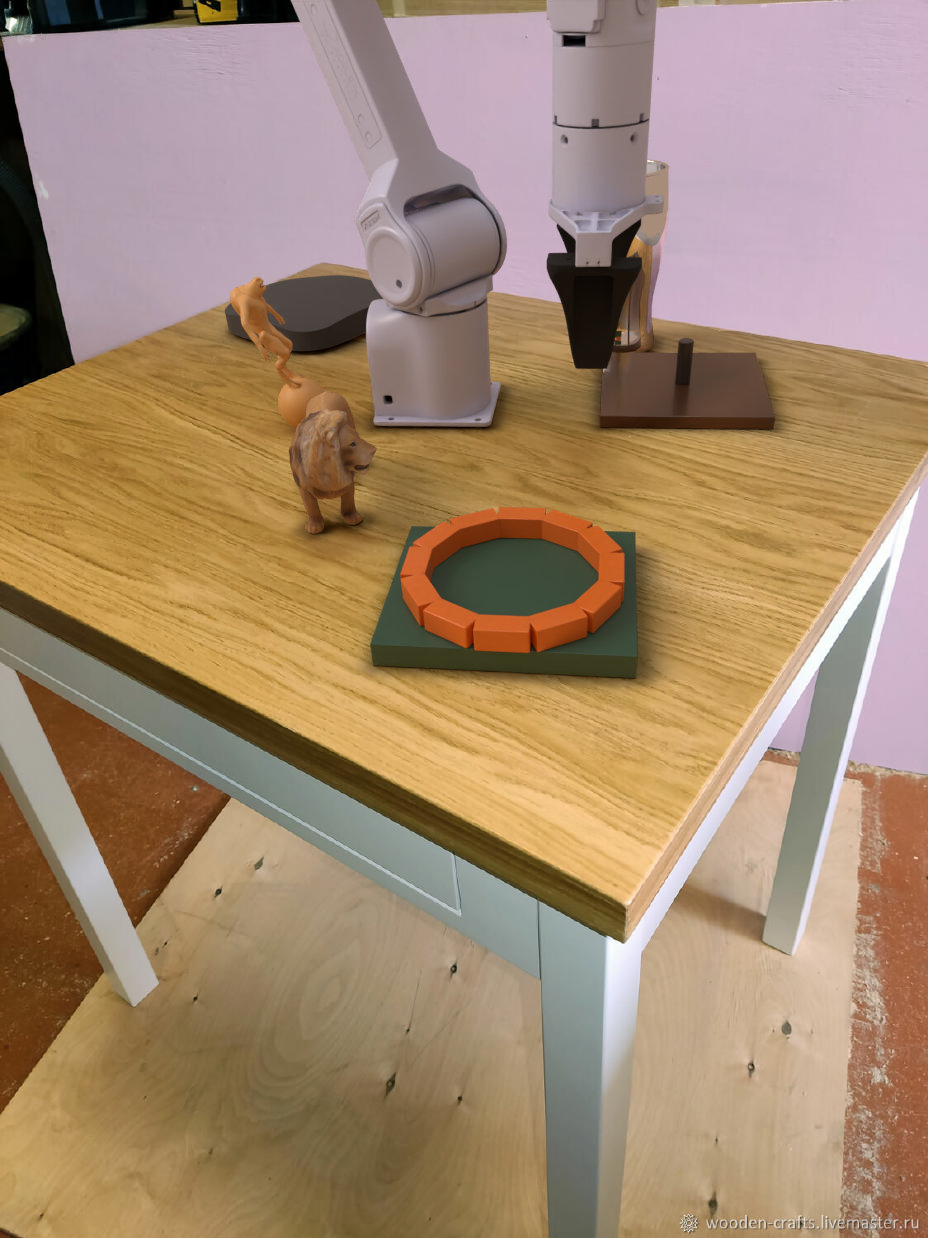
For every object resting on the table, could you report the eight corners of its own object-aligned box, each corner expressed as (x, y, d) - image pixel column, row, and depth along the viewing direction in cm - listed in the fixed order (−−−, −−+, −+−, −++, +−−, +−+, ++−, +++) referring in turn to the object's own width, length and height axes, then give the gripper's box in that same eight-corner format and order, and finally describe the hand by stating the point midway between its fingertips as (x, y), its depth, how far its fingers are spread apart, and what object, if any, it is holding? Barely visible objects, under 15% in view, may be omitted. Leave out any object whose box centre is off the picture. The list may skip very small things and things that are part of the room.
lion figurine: (391, 549, 58) (375, 419, 53) (308, 563, 57) (283, 433, 52) (360, 450, 70) (344, 334, 64) (290, 460, 69) (268, 344, 64)
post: (599, 427, 71) (601, 372, 68) (603, 363, 81) (604, 312, 78) (773, 429, 69) (782, 372, 66) (754, 363, 79) (761, 311, 76)
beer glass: (670, 337, 85) (685, 160, 76) (640, 363, 80) (651, 178, 71) (602, 326, 88) (608, 156, 79) (569, 351, 83) (571, 173, 74)
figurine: (327, 447, 70) (302, 290, 63) (250, 453, 70) (215, 297, 63) (335, 403, 77) (313, 256, 70) (264, 408, 77) (235, 262, 70)
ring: (623, 657, 46) (624, 636, 45) (385, 647, 48) (382, 626, 47) (623, 529, 56) (624, 509, 55) (425, 524, 58) (423, 504, 57)
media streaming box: (312, 361, 85) (306, 329, 83) (213, 333, 93) (206, 303, 91) (414, 314, 94) (412, 284, 92) (316, 292, 101) (312, 264, 100)
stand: (373, 665, 49) (369, 644, 48) (413, 545, 58) (411, 525, 58) (636, 678, 47) (637, 656, 46) (634, 551, 56) (635, 531, 56)
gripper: (674, 141, 47) (655, 388, 56) (666, 97, 59) (651, 308, 67) (538, 145, 48) (539, 387, 57) (556, 102, 60) (555, 308, 68)
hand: (593, 344), depth 62 cm, fingers open, 7 cm apart
